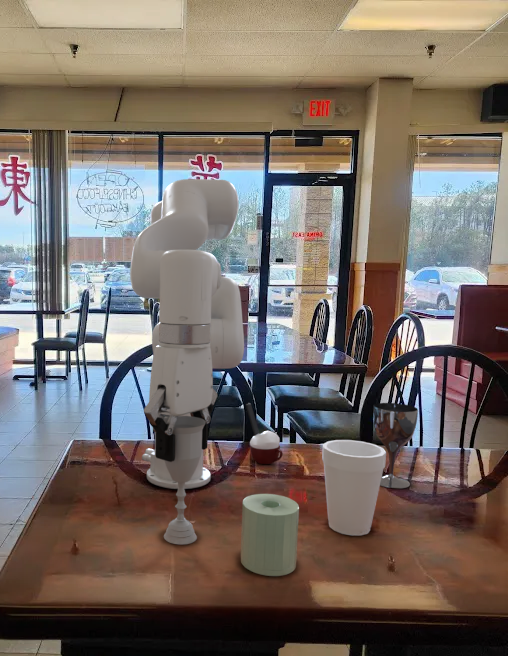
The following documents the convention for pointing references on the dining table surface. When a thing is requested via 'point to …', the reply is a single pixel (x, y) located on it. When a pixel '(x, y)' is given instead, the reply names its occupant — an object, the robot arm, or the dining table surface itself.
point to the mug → (269, 534)
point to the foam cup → (352, 484)
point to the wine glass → (394, 434)
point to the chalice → (184, 473)
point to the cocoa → (263, 442)
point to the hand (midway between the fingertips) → (182, 452)
